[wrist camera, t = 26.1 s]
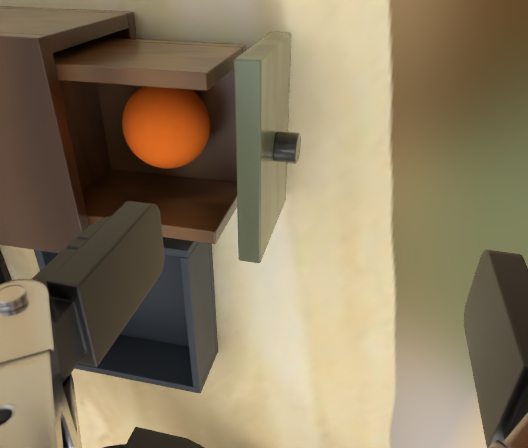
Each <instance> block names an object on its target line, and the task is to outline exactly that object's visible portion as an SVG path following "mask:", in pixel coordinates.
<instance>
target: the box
mask: <svg viewBox="0 0 528 448" xmlns="http://www.w3.org/2000/svg"><path fill="white" fill-rule="evenodd" d="M163 244H164V254H165V258H164V265H163V269H162V272H161V274H160V276H159V278H158V279H157V281H156V282H155V284H154V285H153V287H152V288H151V289H150V291H149V292H148V294H147V295H146V297H145V298H144V300H143V301H142V303H141V304H140V305H139V307H138V308H137V310H136V311H135V313H134V314H133V316H132V317H131V319H130V320H129V321H128V323H127V324H126V326H125V327H124V329H123V330H122V332H121V333H120V335H119V336H118V337H117V339H116V340H115V342H114V343H113V345H112V346H111V348H110V349H109V351H108V352H107V353H106V355H105V356H104V358H103V359H102V361H101V362H100V364H99V365H98V367H93V366H88V365H83V364H77V365H76V367H75V369H80V370H85V371H90V372H95V373H101V374H106V375H111V376H116V377H121V378H126V379H131V380H136V381H141V382H146V383H151V384H156V385H161V386H166V387H171V388H176V389H181V390H186V391H191V392H196V393H201V391H202V388H203V386H204V384H205V381H206V379H207V376H208V374H209V372H210V369H211V367H212V365H213V362H214V360H215V357H216V355H217V353H218V344H217V327H216V311H215V294H214V277H213V260H212V243H204V242H197V241H190V240H182V239H175V238H168V237H163ZM34 252H35V255H36V258H37V262H38V265H39V269H40V271H41V270H42V269H43V268H44V267H45V266H46V265H47V264H48V263H49V262H50V261H51V260H52V259H54V258H55V257H56V256H57V255H58V254H59V253H54V252H47V251H41V250H34Z"/></svg>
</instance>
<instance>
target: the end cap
mask: <svg viewBox="0 0 528 448" xmlns="http://www.w3.org/2000/svg"><path fill="white" fill-rule="evenodd" d="M9 281H11V278H10V276H9V273H8V271H7V268H6V265H5V263H4V260H3V258H2V255H1V253H0V284H3V283H5V282H9Z"/></svg>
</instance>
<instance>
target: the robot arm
mask: <svg viewBox="0 0 528 448" xmlns="http://www.w3.org/2000/svg"><path fill="white" fill-rule="evenodd" d="M164 258H165V254H164V244H163V235H162V226H161V217H160V210H159V208H158V206H157V205H156V204H150V203H143V202H136V201H126V202H125V203H124V204H123V205H122V206H121V207H120V208H119V209H118V210H117V211H116V212H115V213H114V214H113V215H112V216H111V217H109V216H106V217H104V218H102V219H100V220H98V221H96V222H94V223H92V224H90V225H88V226H87V227H86V228H85V229H84V230H83V231H82V232H81V233H80V234H79V235H78V236H77V239H74V240H73V241H71V242H70V243H69V244H68V245H67V248H66V249H65V248H64V249H63V250H62V251H61V252H60V253H59V254H58V255H57V256H56V257H55V258H54V259H52V260H51V261H50V262H49V263H48V264H47V265H46V266H45V267H44V268H43V269H42V270H41V271H40V272H39V273H38V274H37V275H36V276H34V277H33V278H32V279H20V280H13V281H9V282H5V283H3V284H0V448H82V443H81V436H80V428H79V421H78V413H77V406H76V398H75V391H74V383H73V378H72V375H71V372H72V371H73V369H74V368H75V367H76V365H77V364H83V365H88V366H93V367H98V365H99V364H100V362H101V361H102V359H103V358H104V356H105V355H106V353H107V352H108V351H109V349H110V348H111V346H112V345H113V343H114V342H115V340H116V339H117V337H118V336H119V335H120V333H121V332H122V330H123V329H124V327H125V326H126V324H127V323H128V321H129V320H130V319H131V317H132V316H133V314H134V313H135V311H136V310H137V308H138V307H139V305H140V304H141V303H142V301H143V300H144V298H145V297H146V295H147V294H148V292H149V291H150V289H151V288H152V287H153V285H154V284H155V282H156V281H157V279H158V278H159V276H160V274H161V272H162V269H163V265H164ZM464 328H465V334H466V339H467V344H468V349H469V355H470V360H471V366H472V371H473V376H474V381H475V387H476V392H477V397H478V403H479V408H480V413H481V418H482V423H483V429H484V434H485V440H486V444H487V448H528V268H527V266H526V263H525V261H524V259H523V257H522V255H520V254H514V253H507V252H499V251H492V250H484V251H483V253H482V255H481V257H480V260H479V263H478V266H477V269H476V273H475V276H474V279H473V282H472V285H471V288H470V292H469V295H468V298H467V302H466V305H465V312H464ZM104 448H204V447H202V446H200V445H198V444H196V443H195V442H193V441H191V440H189V439H187V438H182V437H178V436H173V435H169V434H165V433H160V432H156V431H152V430H147V429H143V428H138V427H135V429H134V431H133V432H132V434H131V436H130V438H129V440H128V442H127V444H124V445H114V446H108V447H104Z"/></svg>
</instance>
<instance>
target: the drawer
mask: <svg viewBox="0 0 528 448" xmlns="http://www.w3.org/2000/svg"><path fill="white" fill-rule="evenodd" d="M53 57H54V62H55V67H56V71H57V76H58V81H59V86H60V90H61V95H62V100H63V104H64V109H65V114H66V118H67V123H68V128H69V132H70V137H71V142H72V146H73V151H74V156H75V160H76V165H77V170H78V174H79V179H80V184H81V188H82V193H83V198H84V203H85V207H86V212H87V217H88V221H89V225H90V224H92V223H94V222H96V221H98V220H100V219H102V218H104V217H106V216H109V217H111V216H112V215H113V214H114V213H115V212H116V211H117V210H118V209H119V208H120V207H121V206H122V205H123V204H124V203H125V202H126V201H136V202H143V203H150V204H156V205H157V206H158V208H159V210H160V217H161V226H162V235H163V237H168V238H175V239H182V240H190V241H197V242H204V243H212V244H215V243H216V242H217V240H218V239H219V237H220V235H221V233H222V232H223V230H224V228H225V226H226V225H227V223H228V221H229V219H230V218H231V216H232V214H233V213H234V211H235V209H236V207H238V248H239V260H241V261H248V262H255V263H260V262H261V259H262V257H263V254H264V252H265V249H266V247H267V244H268V242H269V240H270V237H271V235H272V232H273V230H274V227H275V225H276V222H277V220H278V217H279V215H280V212H281V210H282V207H283V205H284V203H285V200H286V172H287V163H297V162H298V158H299V153H300V142H301V138H300V134H299V133H291V132H288V116H289V87H290V59H291V33H289V32H270V33H269V34H267V35H266V36H265V37H263V38H262V39H261V40H259V41H258V42H257V43H255V44H254V45H253V46H251V47H250V48H249V49H247V50H246V45H240V44H221V43H202V42H183V41H164V40H145V39H126V38H107V37H100V38H97V39H94V40H91V41H88V42H85V43H82V44H79V45H76V46H73V47H70V48H67V49H64V50H61V51H58V52H55V53H53ZM143 86H148V87H162V88H176V89H189V90H193V91H194V92H195V93H196V94H197V95H198V96H199V97H200V98H201V100H202V101H203V103H204V104H205V106H206V109H207V111H208V114H209V119H210V134H209V139H208V141H207V144H206V146H205V148H204V149H203V151H202V152H201V154H200V155H199V156H198V157H197V158H195V159H194V160H193V161H192V162H190V163H188V164H186V165H184V166H181V167H177V168H169V169H167V168H159V167H155V166H152V165H150V164H148V163H146V162H144V161H143V160H141V159H140V158H139V157H137V156H136V155H135V154H134V152H133V151H132V150H131V149H130V147H129V145H128V144H127V142H126V139H125V137H124V133H123V127H122V119H123V112H124V109H125V106H126V104H127V102H128V100H129V99H130V97H131V96H132V95H133V94H134V93H135V92H136V91H137V90H138V89H140V88H141V87H143Z"/></svg>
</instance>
